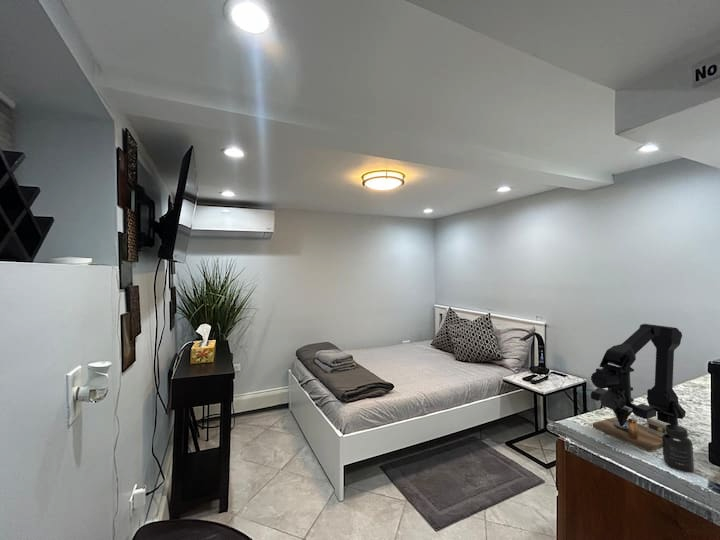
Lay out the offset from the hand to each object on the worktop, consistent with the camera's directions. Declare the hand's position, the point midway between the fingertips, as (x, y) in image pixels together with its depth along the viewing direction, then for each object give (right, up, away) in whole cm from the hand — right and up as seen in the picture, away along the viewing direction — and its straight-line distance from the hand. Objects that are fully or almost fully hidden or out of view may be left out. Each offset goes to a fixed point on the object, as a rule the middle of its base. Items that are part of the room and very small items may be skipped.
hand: (622, 425), depth 116 cm
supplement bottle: (+4, -5, -17) cm, 18 cm away
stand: (+6, -5, +3) cm, 8 cm away
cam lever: (+4, -3, +2) cm, 5 cm away
